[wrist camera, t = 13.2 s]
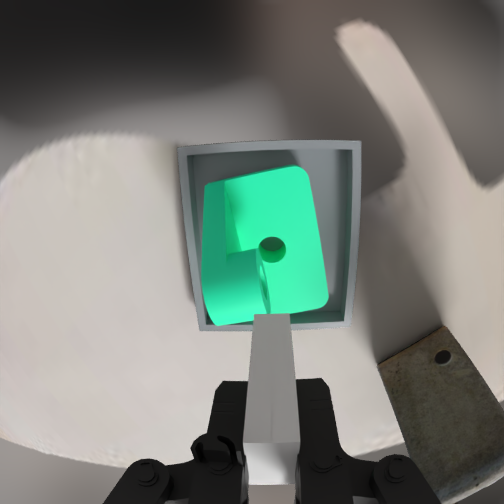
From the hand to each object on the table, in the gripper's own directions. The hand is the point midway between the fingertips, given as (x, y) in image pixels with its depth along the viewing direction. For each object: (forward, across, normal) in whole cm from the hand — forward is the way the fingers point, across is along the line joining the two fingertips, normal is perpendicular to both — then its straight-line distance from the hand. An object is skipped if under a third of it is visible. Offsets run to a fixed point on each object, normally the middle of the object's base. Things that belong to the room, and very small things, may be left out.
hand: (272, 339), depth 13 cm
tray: (+15, 0, 0) cm, 15 cm away
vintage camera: (+15, -19, +19) cm, 31 cm away
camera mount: (+15, 0, 0) cm, 15 cm away
